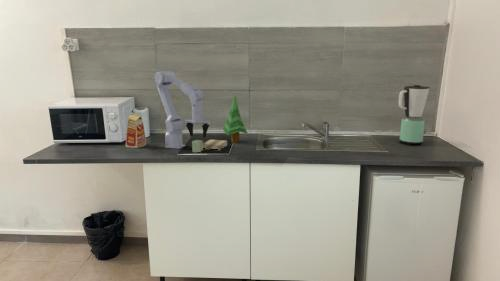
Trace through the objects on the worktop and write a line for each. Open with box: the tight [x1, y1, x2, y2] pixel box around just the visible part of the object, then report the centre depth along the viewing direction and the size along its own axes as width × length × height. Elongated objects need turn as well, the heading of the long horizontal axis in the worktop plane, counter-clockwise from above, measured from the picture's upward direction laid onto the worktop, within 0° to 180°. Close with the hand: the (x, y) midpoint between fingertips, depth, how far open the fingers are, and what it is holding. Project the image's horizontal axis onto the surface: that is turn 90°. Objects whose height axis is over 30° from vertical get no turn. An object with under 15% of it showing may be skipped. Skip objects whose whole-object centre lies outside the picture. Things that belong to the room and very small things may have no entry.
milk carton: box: [125, 112, 147, 149], centre depth 214 cm, size 9×9×20 cm
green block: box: [191, 139, 204, 153], centre depth 203 cm, size 4×4×6 cm
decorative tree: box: [222, 94, 248, 144], centre depth 222 cm, size 14×16×30 cm
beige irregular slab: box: [203, 139, 228, 151], centre depth 212 cm, size 11×11×3 cm
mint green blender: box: [397, 84, 431, 146], centre depth 217 cm, size 19×13×35 cm
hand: (198, 136), depth 202 cm, fingers open, 7 cm apart
